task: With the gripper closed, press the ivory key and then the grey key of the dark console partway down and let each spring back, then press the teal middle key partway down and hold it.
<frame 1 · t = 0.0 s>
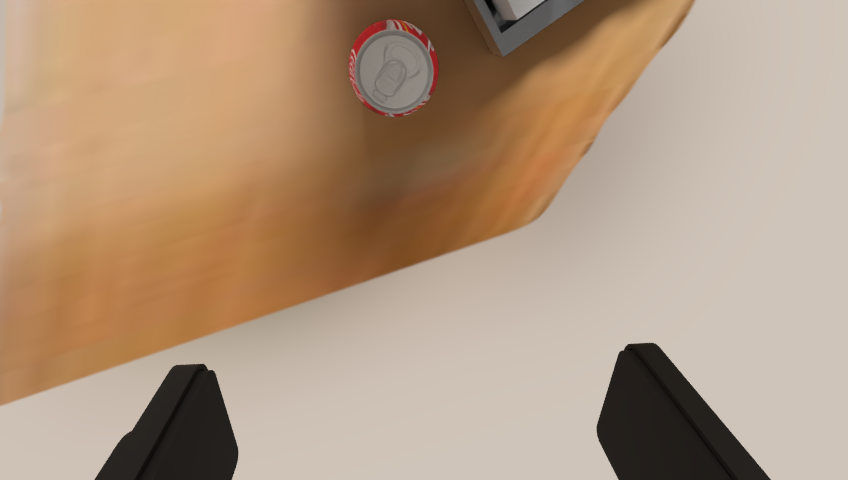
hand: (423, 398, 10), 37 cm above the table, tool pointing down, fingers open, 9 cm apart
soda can: (392, 60, 41), on the table
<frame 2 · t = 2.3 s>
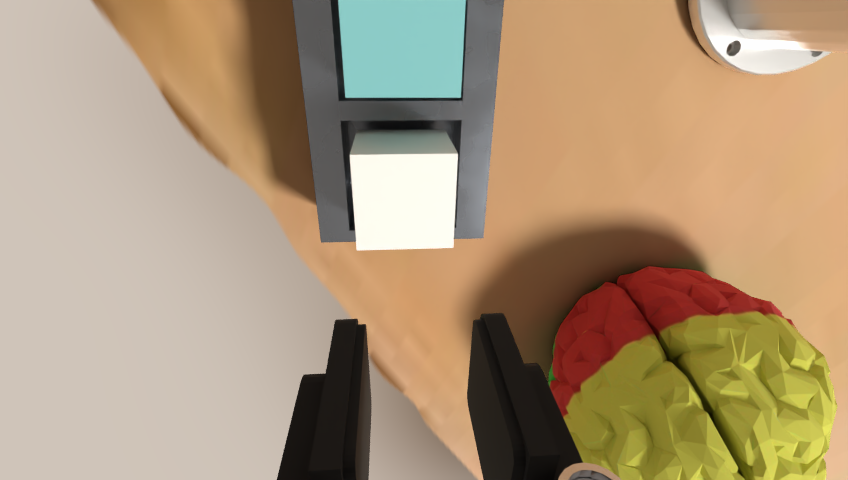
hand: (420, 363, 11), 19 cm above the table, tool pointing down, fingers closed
console: (398, 30, 24), on the table
brain model: (638, 356, 39), on the table
ivory key: (403, 186, 22), point 6 cm above the table, slide at 0.0 cm
teal key: (401, 32, 19), point 6 cm above the table, slide at 0.0 cm
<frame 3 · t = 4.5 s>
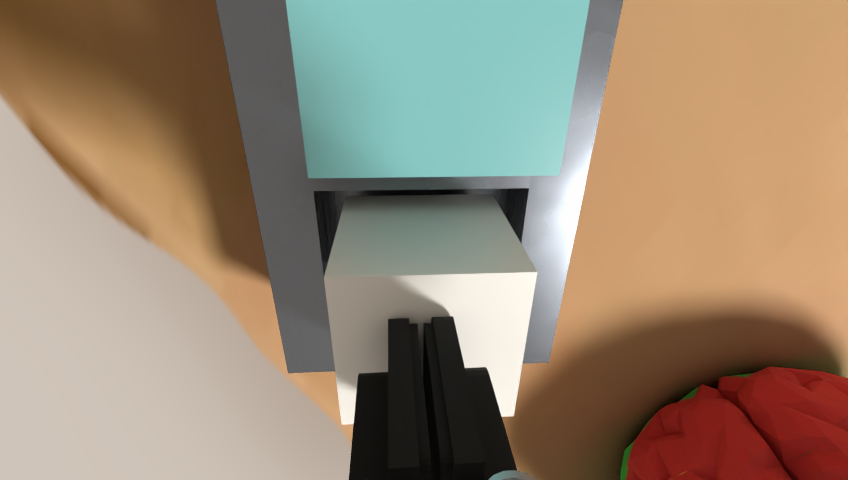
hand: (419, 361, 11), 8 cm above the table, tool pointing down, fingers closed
console: (415, 28, 14), on the table
brain model: (729, 466, 29), on the table
ivory key: (424, 298, 13), point 6 cm above the table, slide at 0.3 cm, touching gripper
teal key: (428, 32, 9), point 6 cm above the table, slide at 0.0 cm
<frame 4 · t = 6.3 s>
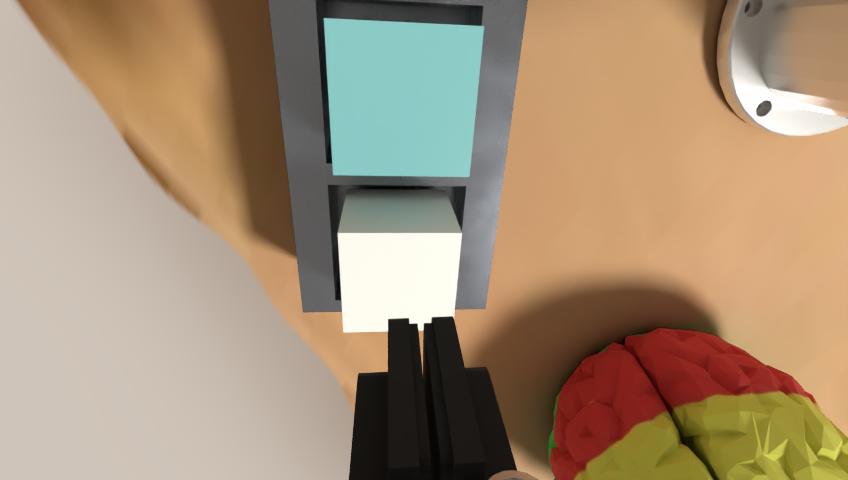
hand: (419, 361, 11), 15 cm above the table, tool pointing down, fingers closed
console: (396, 77, 21), on the table
brain model: (643, 414, 36), on the table
ivory key: (397, 256, 20), point 6 cm above the table, slide at 0.4 cm
teal key: (400, 94, 16), point 6 cm above the table, slide at 0.0 cm
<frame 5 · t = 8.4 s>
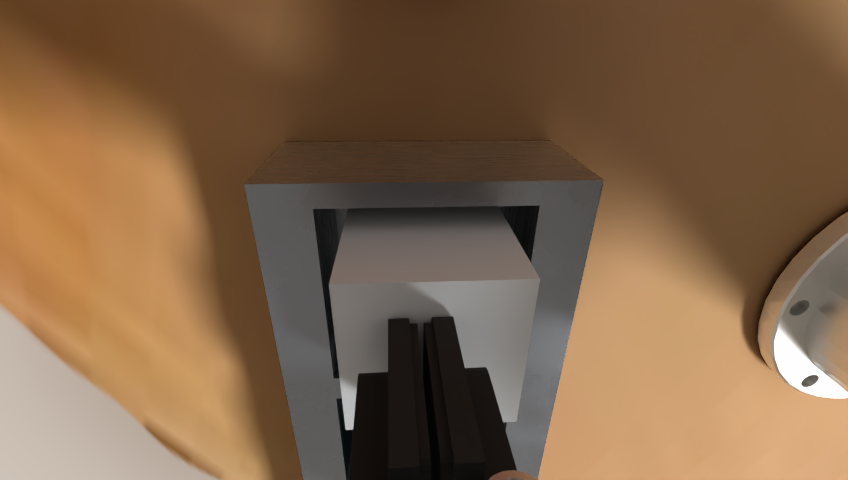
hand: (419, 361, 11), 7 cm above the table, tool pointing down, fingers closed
console: (418, 368, 21), on the table
grey key: (427, 304, 13), point 5 cm above the table, slide at 1.2 cm, touching gripper
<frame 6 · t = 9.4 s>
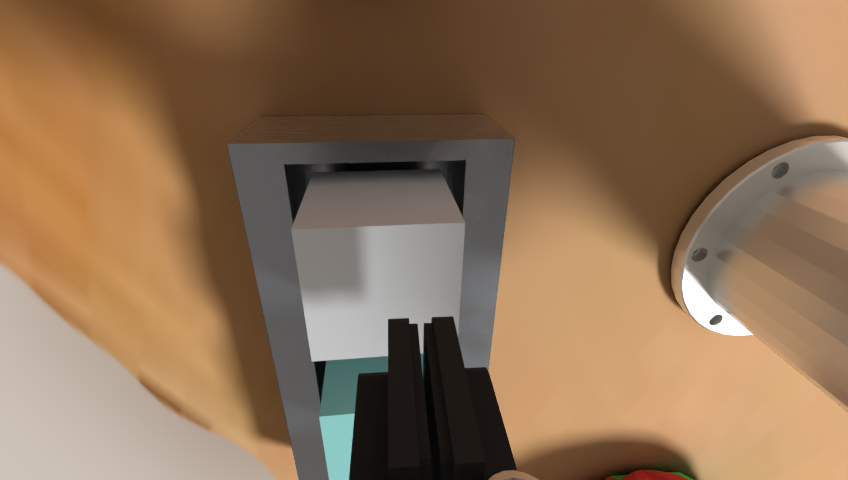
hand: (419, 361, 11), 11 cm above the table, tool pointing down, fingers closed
console: (383, 318, 24), on the table
grey key: (381, 257, 15), point 6 cm above the table, slide at 0.2 cm
teal key: (387, 402, 19), point 6 cm above the table, slide at 0.0 cm
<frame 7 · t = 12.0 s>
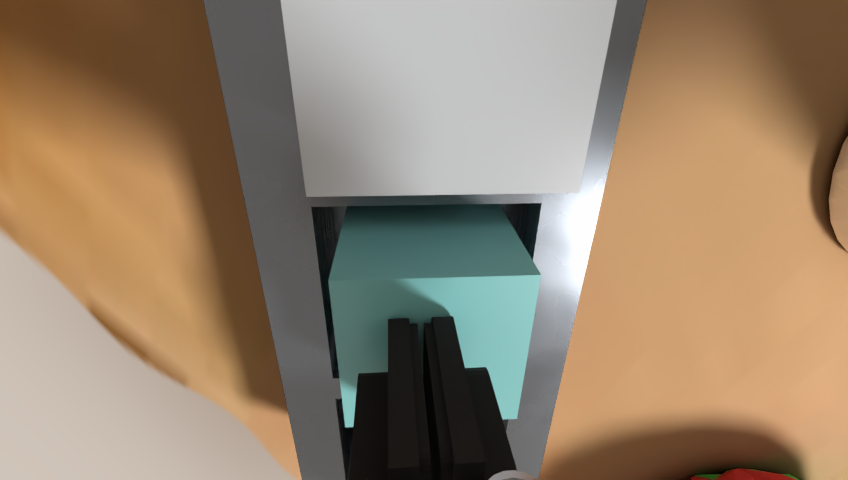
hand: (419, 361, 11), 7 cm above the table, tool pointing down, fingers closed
console: (418, 234, 17), on the table
grey key: (436, 37, 9), point 6 cm above the table, slide at 0.2 cm
teal key: (427, 301, 13), point 5 cm above the table, slide at 1.3 cm, touching gripper
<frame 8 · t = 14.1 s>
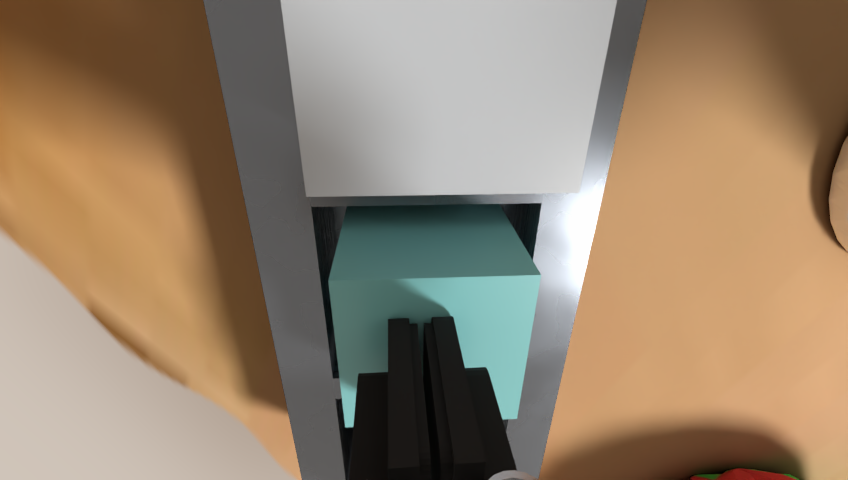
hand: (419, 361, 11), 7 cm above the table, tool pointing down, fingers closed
console: (418, 234, 17), on the table
grey key: (436, 37, 9), point 6 cm above the table, slide at 0.2 cm
teal key: (427, 301, 13), point 5 cm above the table, slide at 1.3 cm, touching gripper
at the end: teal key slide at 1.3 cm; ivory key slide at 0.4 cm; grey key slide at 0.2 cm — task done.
